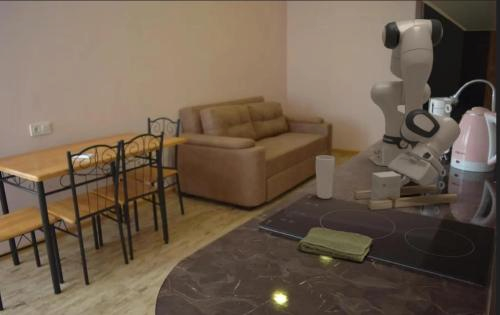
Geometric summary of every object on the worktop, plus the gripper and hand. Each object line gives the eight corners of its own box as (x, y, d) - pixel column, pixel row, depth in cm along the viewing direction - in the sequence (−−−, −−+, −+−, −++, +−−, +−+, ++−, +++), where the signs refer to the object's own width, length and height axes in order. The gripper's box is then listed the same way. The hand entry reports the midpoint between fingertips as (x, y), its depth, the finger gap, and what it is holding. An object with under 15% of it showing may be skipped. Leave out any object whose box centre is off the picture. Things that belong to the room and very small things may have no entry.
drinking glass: (333, 200, 142) (335, 159, 139) (314, 199, 144) (315, 159, 140) (333, 194, 149) (334, 155, 145) (315, 193, 150) (316, 155, 146)
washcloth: (364, 266, 97) (364, 254, 96) (296, 252, 105) (296, 241, 104) (373, 244, 109) (374, 233, 108) (311, 233, 116) (311, 223, 115)
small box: (390, 199, 142) (392, 171, 139) (399, 204, 137) (401, 175, 134) (370, 201, 140) (371, 172, 138) (378, 206, 135) (380, 177, 133)
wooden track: (354, 197, 145) (354, 189, 144) (432, 190, 150) (433, 182, 150) (371, 210, 132) (371, 201, 131) (456, 201, 138) (457, 192, 137)
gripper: (400, 145, 148) (375, 172, 148) (436, 157, 128) (406, 189, 129) (410, 156, 150) (385, 183, 150) (447, 170, 130) (418, 200, 131)
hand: (395, 186), depth 139 cm, fingers closed
